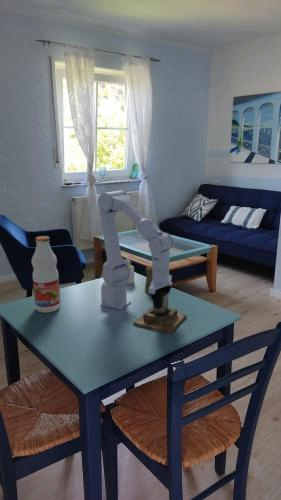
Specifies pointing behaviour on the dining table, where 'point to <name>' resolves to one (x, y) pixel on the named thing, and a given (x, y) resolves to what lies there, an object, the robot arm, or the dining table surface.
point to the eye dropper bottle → (131, 278)
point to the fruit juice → (45, 277)
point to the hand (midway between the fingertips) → (160, 305)
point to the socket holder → (160, 320)
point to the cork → (148, 278)
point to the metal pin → (162, 307)
